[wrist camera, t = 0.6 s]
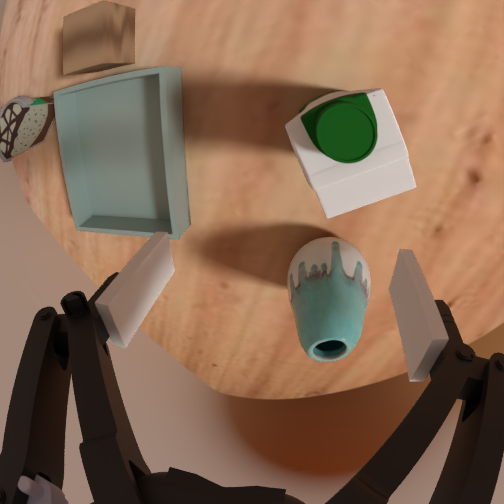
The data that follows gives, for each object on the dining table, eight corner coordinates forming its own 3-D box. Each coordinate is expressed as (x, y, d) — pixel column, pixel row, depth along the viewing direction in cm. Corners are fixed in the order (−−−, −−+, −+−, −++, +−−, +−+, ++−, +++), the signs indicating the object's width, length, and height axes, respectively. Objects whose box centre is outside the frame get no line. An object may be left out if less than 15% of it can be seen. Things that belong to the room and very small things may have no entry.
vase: (369, 284, 46) (385, 374, 31) (300, 297, 49) (290, 387, 34) (358, 218, 41) (380, 301, 26) (280, 236, 44) (261, 321, 29)
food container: (50, 75, 36) (7, 83, 27) (67, 94, 38) (24, 104, 29) (26, 128, 42) (-13, 143, 33) (41, 147, 43) (2, 164, 35)
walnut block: (97, 20, 31) (63, 16, 24) (135, 9, 30) (103, 0, 23) (98, 71, 35) (63, 75, 29) (135, 63, 34) (102, 63, 27)
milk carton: (352, 82, 31) (395, 77, 15) (379, 146, 35) (435, 204, 18) (289, 107, 35) (268, 125, 18) (318, 169, 38) (323, 243, 21)
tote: (74, 88, 37) (53, 92, 33) (181, 67, 34) (165, 66, 30) (92, 217, 49) (76, 230, 45) (190, 224, 46) (178, 239, 42)
